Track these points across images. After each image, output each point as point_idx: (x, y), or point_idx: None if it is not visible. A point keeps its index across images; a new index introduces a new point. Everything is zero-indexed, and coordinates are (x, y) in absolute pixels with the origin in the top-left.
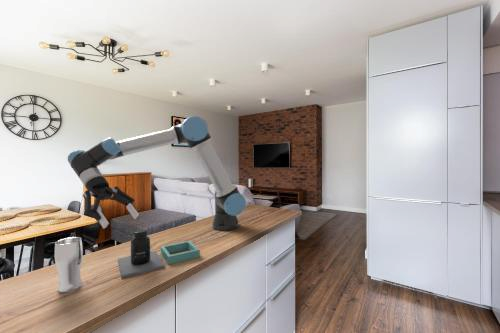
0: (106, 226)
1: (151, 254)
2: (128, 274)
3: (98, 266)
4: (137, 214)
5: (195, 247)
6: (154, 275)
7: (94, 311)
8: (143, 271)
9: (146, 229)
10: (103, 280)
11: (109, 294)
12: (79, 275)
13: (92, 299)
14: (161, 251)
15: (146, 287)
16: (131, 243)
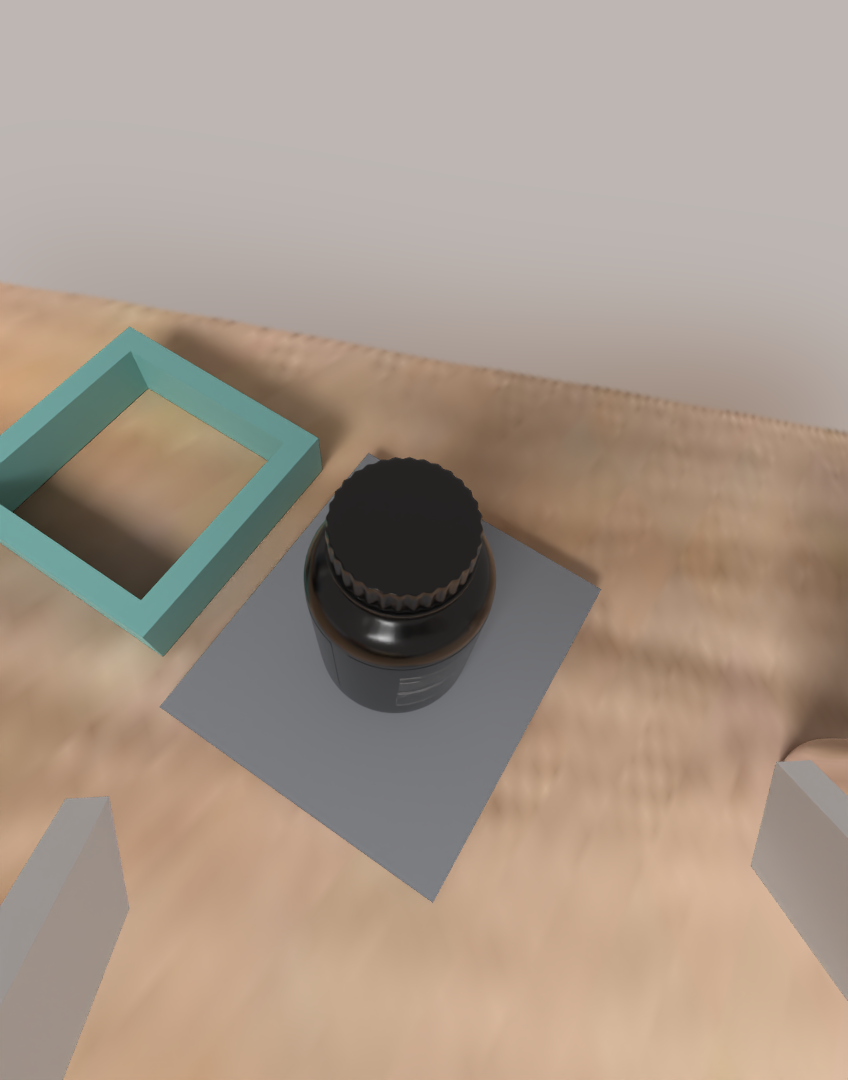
0: (768, 826)
1: (247, 672)
2: (563, 568)
3: (579, 975)
4: (97, 811)
5: (92, 368)
6: (469, 454)
7: (816, 464)
8: (482, 524)
9: (333, 499)
10: (670, 687)
11: (718, 517)
12: (846, 749)
13: (791, 554)
14: (174, 626)
15: (577, 408)
16: (492, 599)
